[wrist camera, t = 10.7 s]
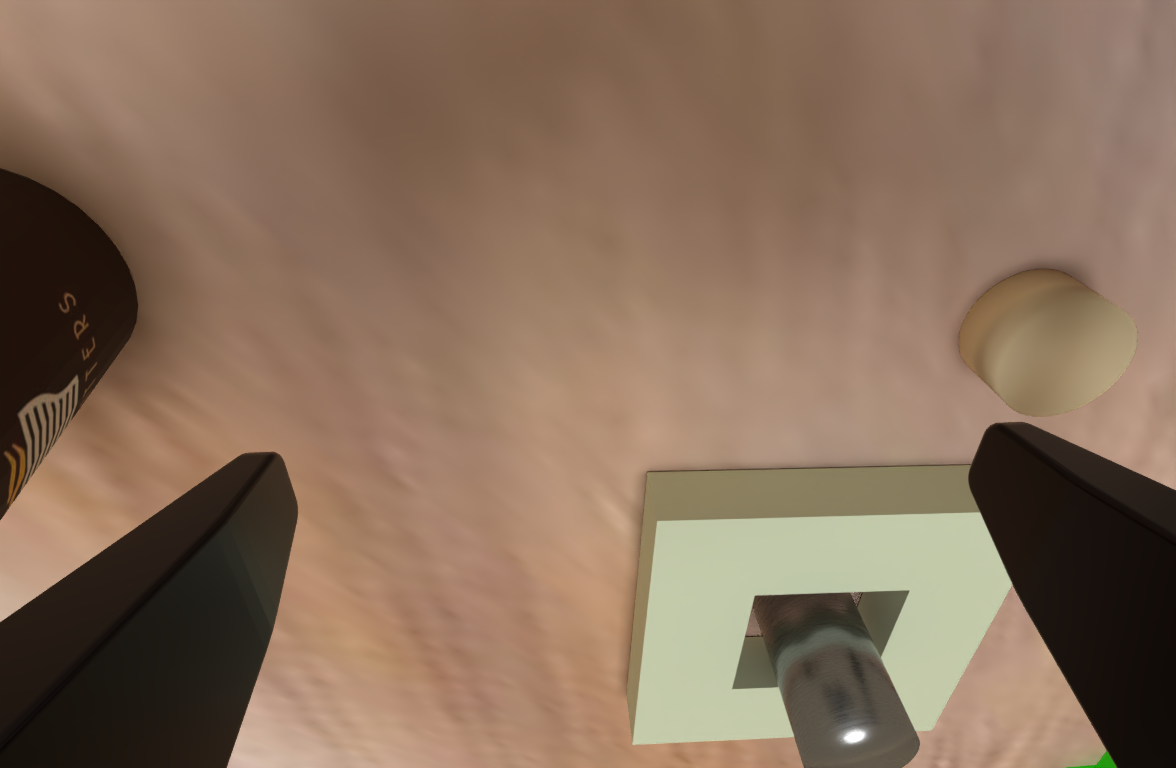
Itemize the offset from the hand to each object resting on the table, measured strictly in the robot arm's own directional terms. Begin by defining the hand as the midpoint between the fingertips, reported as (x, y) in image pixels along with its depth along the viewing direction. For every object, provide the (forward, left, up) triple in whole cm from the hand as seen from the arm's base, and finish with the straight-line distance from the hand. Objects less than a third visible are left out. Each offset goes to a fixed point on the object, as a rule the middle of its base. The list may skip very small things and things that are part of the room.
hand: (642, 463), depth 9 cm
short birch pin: (-15, +5, -12) cm, 20 cm away
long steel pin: (-10, +18, -12) cm, 23 cm away
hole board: (-9, +18, -12) cm, 23 cm away
